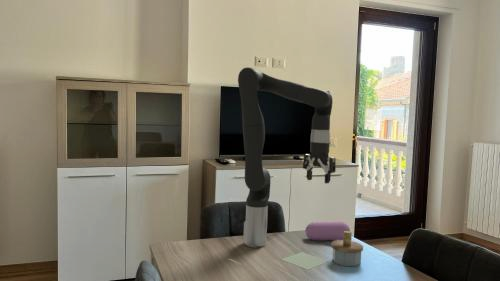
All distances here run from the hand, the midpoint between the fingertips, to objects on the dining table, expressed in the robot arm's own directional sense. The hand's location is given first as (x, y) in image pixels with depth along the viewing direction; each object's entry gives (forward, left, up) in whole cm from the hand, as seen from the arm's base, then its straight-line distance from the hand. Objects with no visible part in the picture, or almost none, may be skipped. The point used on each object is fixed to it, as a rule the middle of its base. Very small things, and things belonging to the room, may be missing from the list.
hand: (318, 181), depth 163 cm
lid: (+13, +3, -24) cm, 27 cm away
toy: (-8, +20, -30) cm, 37 cm away
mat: (+2, -9, -30) cm, 31 cm away
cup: (+13, +3, -30) cm, 33 cm away
